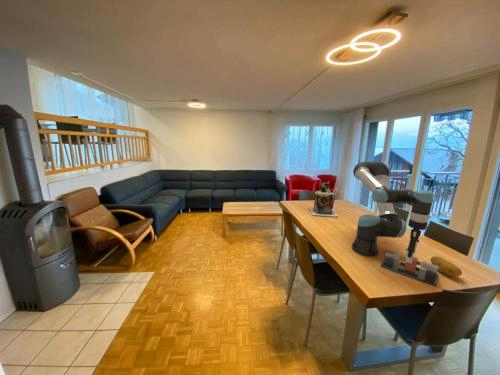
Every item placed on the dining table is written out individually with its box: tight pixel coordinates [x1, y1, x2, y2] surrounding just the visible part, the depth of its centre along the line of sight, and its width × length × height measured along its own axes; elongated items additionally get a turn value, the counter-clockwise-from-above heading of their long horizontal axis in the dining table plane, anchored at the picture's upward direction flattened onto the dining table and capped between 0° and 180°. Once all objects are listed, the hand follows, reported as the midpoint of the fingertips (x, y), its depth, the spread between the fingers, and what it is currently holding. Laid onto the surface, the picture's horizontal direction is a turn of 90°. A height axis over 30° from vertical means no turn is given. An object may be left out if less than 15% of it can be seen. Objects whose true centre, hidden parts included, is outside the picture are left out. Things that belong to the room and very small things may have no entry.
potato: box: [430, 255, 463, 277], centre depth 112 cm, size 7×14×7 cm, turn 3°
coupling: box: [402, 256, 422, 273], centre depth 111 cm, size 8×5×7 cm, turn 46°
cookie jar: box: [308, 181, 339, 218], centre depth 205 cm, size 25×25×32 cm
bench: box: [379, 249, 439, 288], centre depth 112 cm, size 24×12×8 cm, turn 46°
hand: (410, 257), depth 112 cm, fingers open, 13 cm apart
